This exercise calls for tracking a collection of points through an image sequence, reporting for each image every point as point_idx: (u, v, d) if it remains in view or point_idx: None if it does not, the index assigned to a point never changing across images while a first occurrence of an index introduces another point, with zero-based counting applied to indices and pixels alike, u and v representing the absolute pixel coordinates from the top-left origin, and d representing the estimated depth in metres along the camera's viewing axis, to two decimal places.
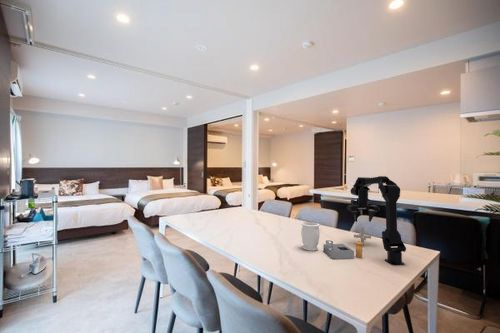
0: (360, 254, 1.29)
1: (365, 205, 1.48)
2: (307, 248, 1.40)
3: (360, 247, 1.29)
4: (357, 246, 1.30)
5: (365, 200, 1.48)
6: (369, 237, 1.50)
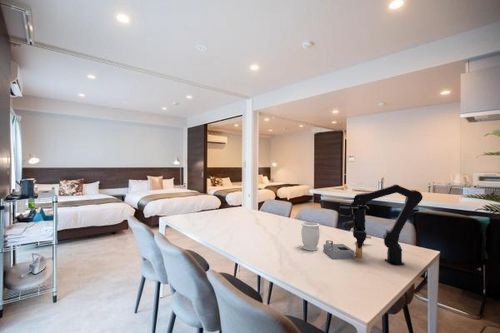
0: (360, 254, 1.29)
1: None
2: (307, 248, 1.40)
3: None
4: (357, 246, 1.30)
5: None
6: (369, 237, 1.50)
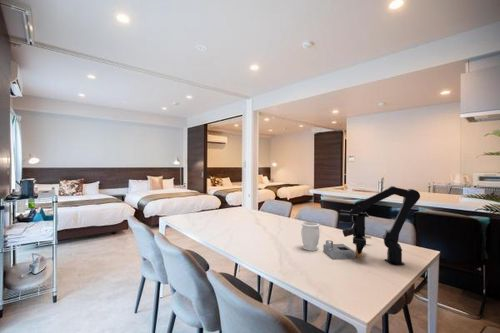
0: (360, 254, 1.29)
1: (364, 233, 1.29)
2: (307, 248, 1.40)
3: None
4: None
5: None
6: (369, 237, 1.50)
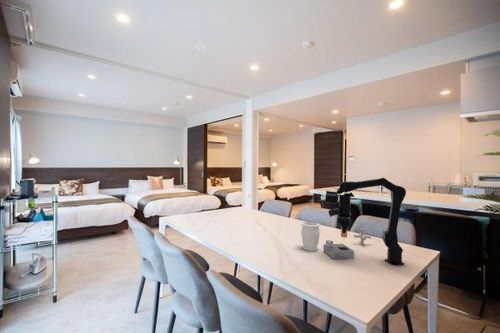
0: (345, 233, 1.30)
1: (350, 213, 1.30)
2: (307, 248, 1.40)
3: None
4: None
5: None
6: (369, 237, 1.50)
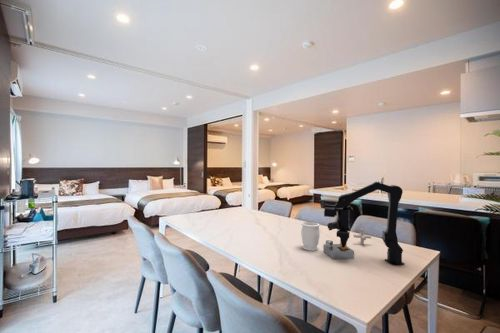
0: (344, 247, 1.30)
1: (349, 227, 1.30)
2: (307, 248, 1.40)
3: None
4: None
5: None
6: (369, 237, 1.50)
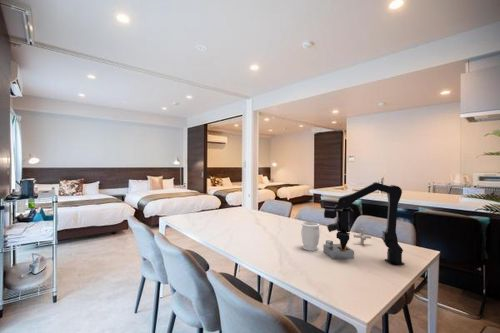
0: None
1: (349, 228, 1.30)
2: (307, 248, 1.40)
3: None
4: None
5: None
6: (369, 237, 1.50)
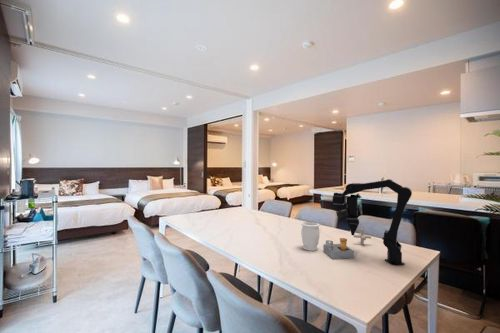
0: None
1: (357, 214, 1.34)
2: (307, 248, 1.40)
3: (344, 243, 1.30)
4: (341, 242, 1.31)
5: (357, 208, 1.34)
6: (369, 237, 1.50)
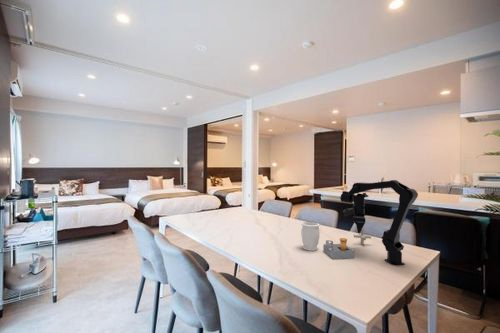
0: None
1: None
2: (307, 248, 1.40)
3: (344, 243, 1.30)
4: (341, 242, 1.31)
5: (364, 207, 1.36)
6: (369, 237, 1.50)
